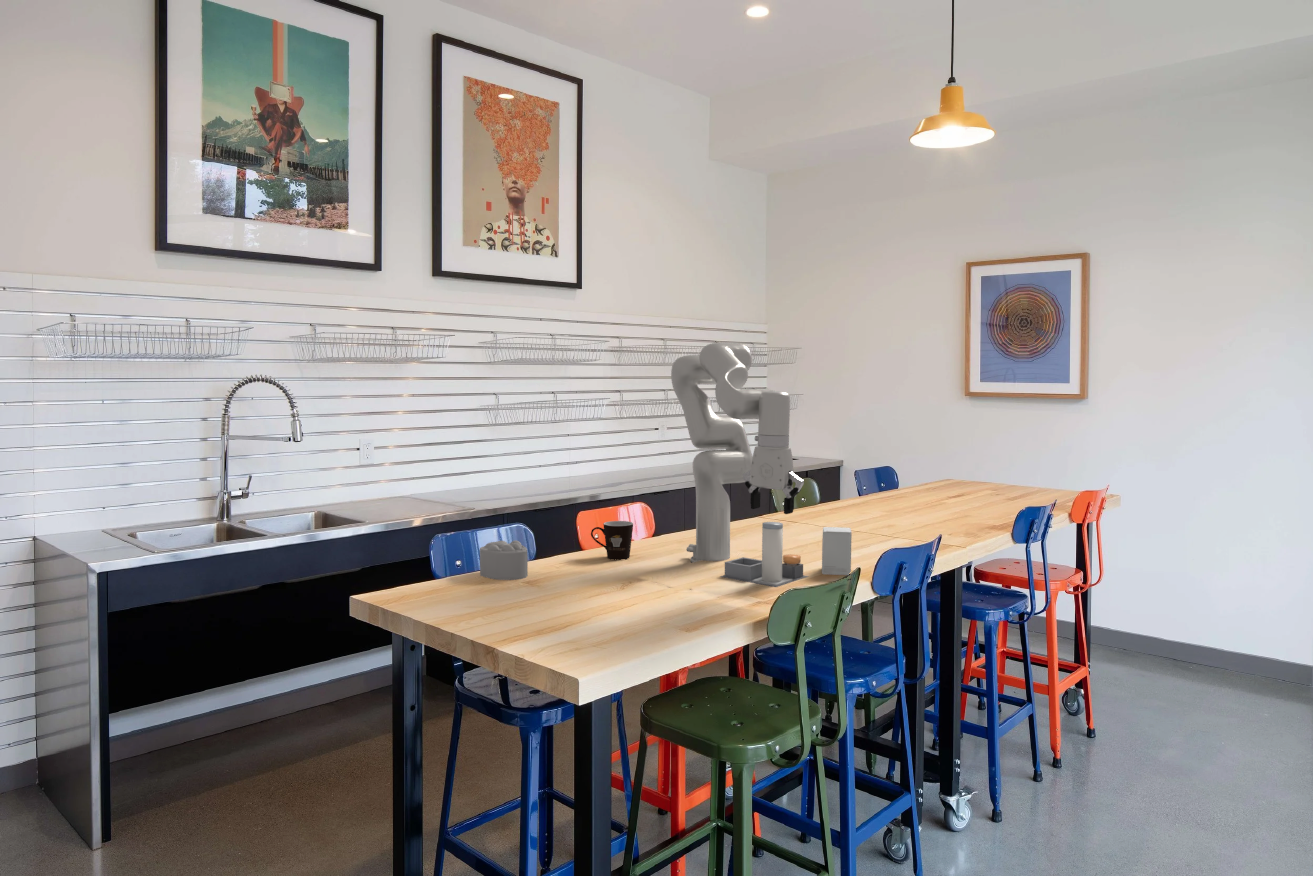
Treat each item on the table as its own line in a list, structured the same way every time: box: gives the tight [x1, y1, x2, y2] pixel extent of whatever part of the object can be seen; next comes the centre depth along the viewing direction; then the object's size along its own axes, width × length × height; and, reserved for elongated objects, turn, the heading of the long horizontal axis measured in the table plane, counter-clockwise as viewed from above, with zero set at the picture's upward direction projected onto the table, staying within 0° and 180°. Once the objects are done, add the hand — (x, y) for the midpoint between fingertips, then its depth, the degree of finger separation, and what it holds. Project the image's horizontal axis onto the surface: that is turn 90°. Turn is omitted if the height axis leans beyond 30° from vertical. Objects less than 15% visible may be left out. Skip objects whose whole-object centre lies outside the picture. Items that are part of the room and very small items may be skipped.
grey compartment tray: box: [719, 557, 809, 588], centre depth 218 cm, size 17×15×5 cm
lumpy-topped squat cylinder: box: [479, 539, 529, 581], centre depth 226 cm, size 10×13×9 cm
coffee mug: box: [590, 520, 634, 561], centre depth 248 cm, size 12×9×10 cm
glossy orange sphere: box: [782, 553, 802, 566], centre depth 218 cm, size 4×4×4 cm
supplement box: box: [821, 526, 853, 576], centre depth 223 cm, size 7×7×13 cm
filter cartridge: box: [761, 521, 784, 582], centre depth 212 cm, size 5×5×14 cm
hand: (771, 510), depth 212 cm, fingers open, 9 cm apart
